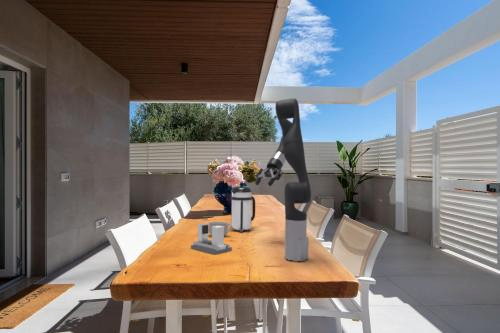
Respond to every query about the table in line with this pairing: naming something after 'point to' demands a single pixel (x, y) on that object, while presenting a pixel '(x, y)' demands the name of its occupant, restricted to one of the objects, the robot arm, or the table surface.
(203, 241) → the rail
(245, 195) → the coffee press
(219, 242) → the white stepped block
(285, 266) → the table surface
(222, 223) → the teacup
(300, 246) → the robot arm
